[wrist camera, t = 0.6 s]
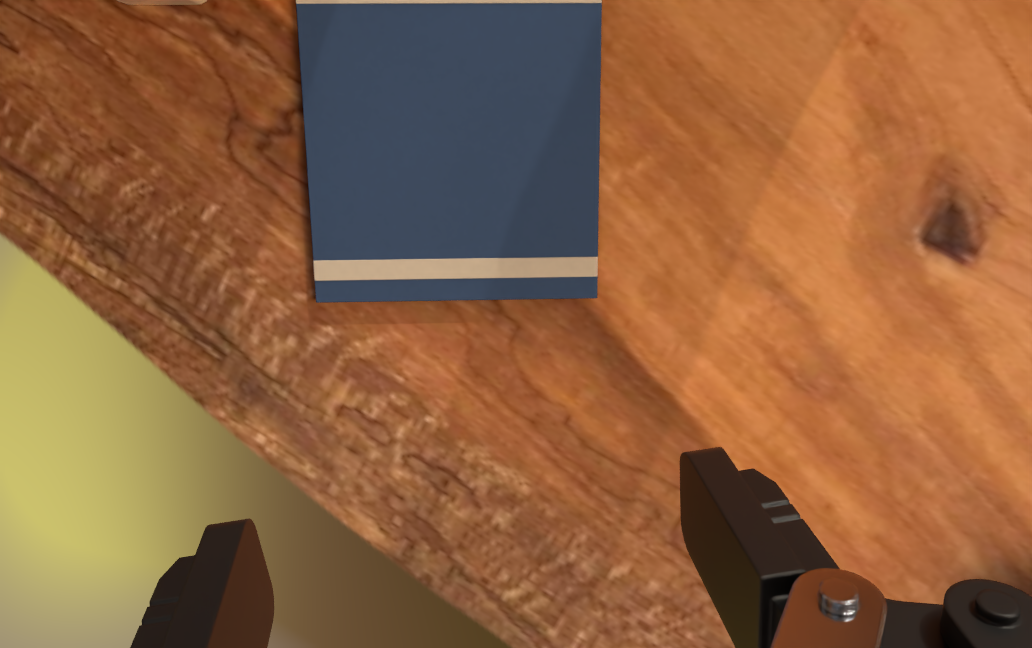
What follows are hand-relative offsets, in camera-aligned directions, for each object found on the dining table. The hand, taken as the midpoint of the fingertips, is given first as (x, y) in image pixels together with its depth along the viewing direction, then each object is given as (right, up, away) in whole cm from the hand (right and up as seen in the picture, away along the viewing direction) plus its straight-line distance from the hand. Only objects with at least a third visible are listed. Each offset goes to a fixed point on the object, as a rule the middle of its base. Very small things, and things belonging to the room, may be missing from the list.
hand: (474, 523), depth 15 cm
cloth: (-2, +13, +23) cm, 27 cm away
